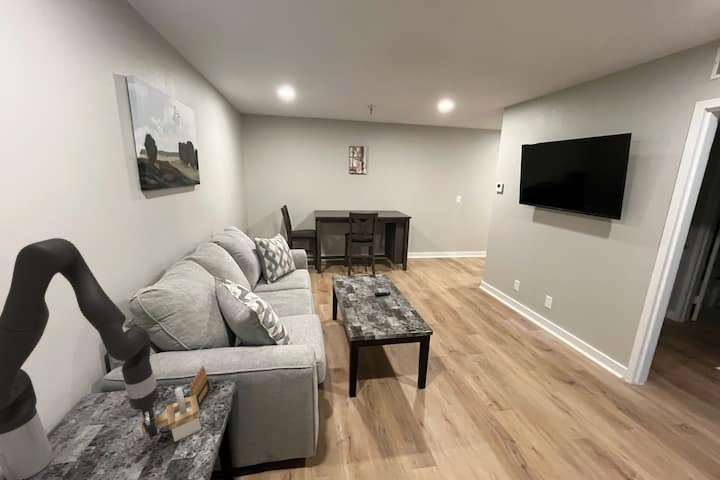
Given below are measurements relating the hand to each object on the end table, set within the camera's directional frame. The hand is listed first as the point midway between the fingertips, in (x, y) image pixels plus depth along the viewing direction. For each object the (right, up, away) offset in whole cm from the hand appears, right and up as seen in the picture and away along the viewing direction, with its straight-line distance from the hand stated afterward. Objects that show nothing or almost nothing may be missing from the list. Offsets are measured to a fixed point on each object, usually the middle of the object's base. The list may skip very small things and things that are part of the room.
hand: (153, 432), depth 99 cm
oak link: (+4, +3, +3) cm, 6 cm away
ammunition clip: (+6, +1, +18) cm, 19 cm away
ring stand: (+7, -2, +6) cm, 10 cm away
